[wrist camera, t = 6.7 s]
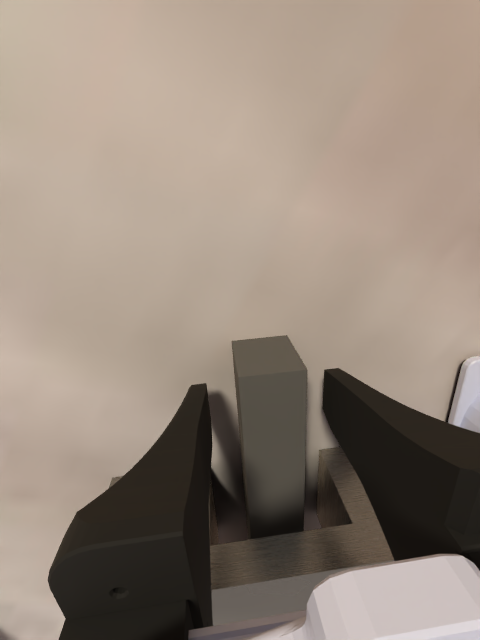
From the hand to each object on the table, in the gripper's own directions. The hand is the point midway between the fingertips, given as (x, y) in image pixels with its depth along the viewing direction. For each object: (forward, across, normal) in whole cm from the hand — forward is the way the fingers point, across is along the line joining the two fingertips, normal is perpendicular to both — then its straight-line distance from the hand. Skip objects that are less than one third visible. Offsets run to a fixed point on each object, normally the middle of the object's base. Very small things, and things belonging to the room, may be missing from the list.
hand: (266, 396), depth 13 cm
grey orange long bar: (+2, 0, +7) cm, 8 cm away
